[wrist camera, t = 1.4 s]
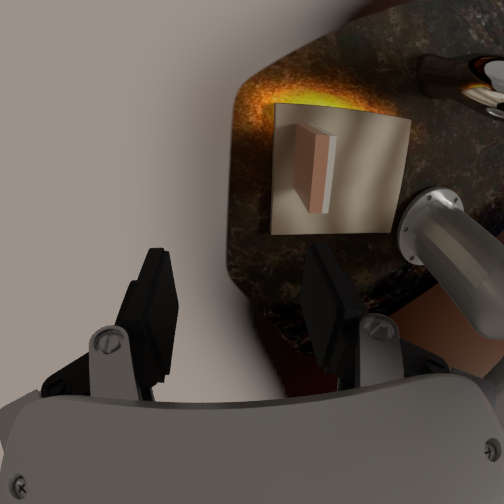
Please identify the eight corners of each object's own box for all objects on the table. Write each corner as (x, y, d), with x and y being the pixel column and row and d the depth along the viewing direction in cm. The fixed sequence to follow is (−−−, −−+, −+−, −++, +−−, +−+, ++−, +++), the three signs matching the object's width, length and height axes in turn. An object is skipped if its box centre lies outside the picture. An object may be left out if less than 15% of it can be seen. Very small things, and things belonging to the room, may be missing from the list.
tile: (313, 124, 27) (336, 136, 21) (308, 186, 31) (328, 213, 25) (296, 123, 27) (315, 134, 21) (292, 186, 31) (308, 213, 25)
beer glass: (410, 47, 23) (505, 48, 10) (451, 55, 23) (541, 67, 10) (414, 100, 27) (507, 128, 14) (453, 104, 27) (541, 134, 14)
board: (405, 118, 28) (411, 120, 27) (386, 228, 36) (390, 232, 35) (274, 102, 27) (276, 103, 26) (269, 230, 35) (271, 234, 34)
